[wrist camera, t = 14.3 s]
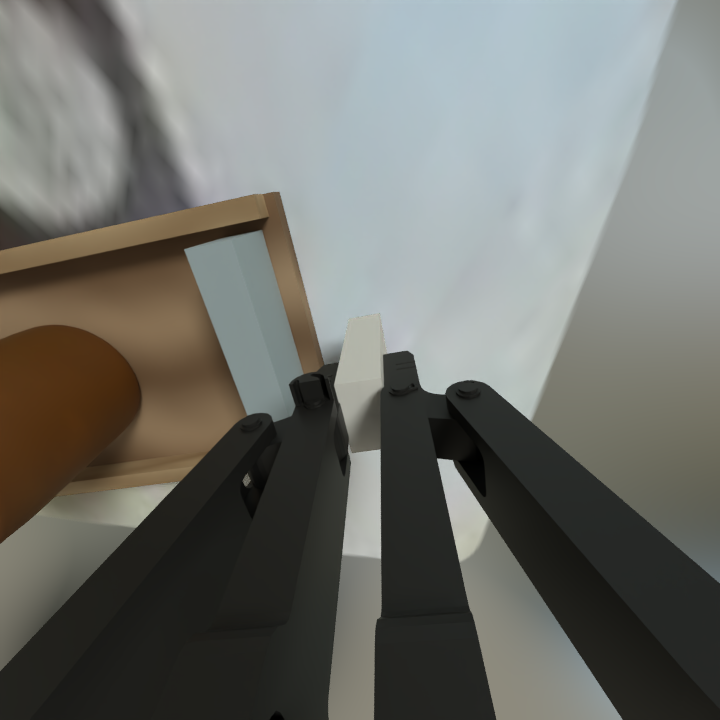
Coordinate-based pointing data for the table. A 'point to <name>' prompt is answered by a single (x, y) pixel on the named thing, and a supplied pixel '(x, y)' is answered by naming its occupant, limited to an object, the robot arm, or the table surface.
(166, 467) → the housing base
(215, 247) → the bar
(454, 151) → the table surface
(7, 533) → the mug
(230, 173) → the table surface
